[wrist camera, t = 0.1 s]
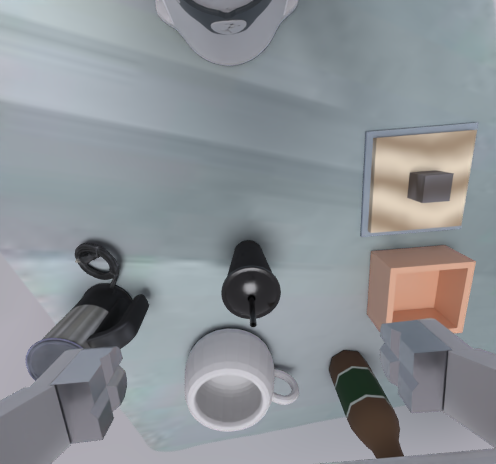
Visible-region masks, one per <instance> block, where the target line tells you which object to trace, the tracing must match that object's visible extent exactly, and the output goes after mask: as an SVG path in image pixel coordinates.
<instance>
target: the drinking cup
mask: <svg viewBox="0 0 496 464" xmlns="http://www.w3.org/2000/svg"><path fill="white" fill-rule="evenodd" d="M280 295H281V290H280V285H279V282H278V280H277V278H276V277H275V276H274V275H273V274H272V271H271V269H270V267H269V265H268V263H267V260H266V258H265V256H264V254H263V252H262V249H261V247H260V246H259V245H258V244H257V243H256V242H254V241H250V240H247V241H243V242H241V243H239V244H238V245H237V246H236V248H235V251H234V255H233V258H232V262H231V265H230V269H229V272H228V276H227V278H226V279H225V281H224V283H223V286H222V300H223V302H224V305H225V306H226V308H227V309H228V310H229V311H230V312H231V313H233V314H234V315H236V316H238V317H241V318H245V319H250V326H251V327H255V326H256V318H260V317H263V316H265V315H267V314H269V313H270V312H271V311H272V310H273V309H274V308H275V307H276V306H277V304H278V302H279V299H280Z"/></svg>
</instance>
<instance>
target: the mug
mask: <svg viewBox="0 0 496 464" xmlns="http://www.w3.org/2000/svg"><path fill="white" fill-rule="evenodd" d="M275 377H278V378H281V379H283V380H285V381H286V382H287V383H288V384H289V385H290V386H291V389H292V391H291V393H290V394H289V395H287V396H283V395H279V394H276V393H274V392H273V391H274V378H275ZM298 395H299V388H298V384H297V382H296V381H295V379H294V378H293V377H292V376H291V375H289V374H288V373H286V372H284V371H281V370H279V369H274V364H273V359H272V356H271V353H270V351H269V350H268V348H267V346H266V344H265V343H264V342H263V341H262V340H261V339H260V338H259V337H257V336H255V335H253V334H252V333H250V332H247V331H244V330H240V329H222V330H216V331H214V332H212V333H209V334H207V335H205V336H204V337H203V338H201V339H200V340H199V341H198V342H197V343H196V344H195V346H194V347H193V348H192V350H191V352H190V354H189V357H188V359H187V362H186V368H185V400H186V403H187V405H188V408H189V411H190V412H191V414H192V415H193V417H194V418H195V419H196V420H197V421H198V422H200V423H201V424H202V425H204V426H206V427H208V428H211V429H214V430H218V431H238V430H243V429H246V428H248V427H251V426H253V425H254V424H256V423H257V422H259V421H260V420H261V419H262V418H263V416H264V415H265V414H266V412H267V410H268V408H269V406H270V404H271V402H272V401H273V402H275V403H278V404H282V405H288V404H290V403H292V402H294V401H295V400H296V399H297V398H298Z"/></svg>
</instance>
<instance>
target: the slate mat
mask: <svg viewBox="0 0 496 464" xmlns="http://www.w3.org/2000/svg"><path fill="white" fill-rule="evenodd" d="M477 129H478V123H466V124H454V125H442V126H429V127H417V128H405V129H393V130H381V131H368V132H366V134H365V154H364V174H363V194H362V214H361V234H360V236H361V237H366V236H379V235H391V234H403V233H415V232H427V231H440V230H452V229H461V226H452V227H439V228H427V229H415V230H403V231H391V232H378V233H370V232H369V231H368V218H369V201H370V183H371V166H372V149H373V138H380V137H392V136H404V135H416V134H429V133H441V132H453V131H465V130H477ZM476 135H477V133H476ZM475 141H476V139H475ZM474 147H475V145H474ZM473 153H474V151H473ZM472 159H473V157H472ZM471 165H472V163H471ZM470 171H471V169H470ZM469 177H470V175H469ZM468 183H469V181H468ZM467 189H468V187H467ZM466 195H467V193H466ZM465 201H466V199H465ZM464 207H465V205H464ZM463 213H464V211H463ZM462 219H463V217H462ZM461 225H462V223H461Z"/></svg>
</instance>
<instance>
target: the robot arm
mask: <svg viewBox="0 0 496 464" xmlns="http://www.w3.org/2000/svg"><path fill="white" fill-rule="evenodd" d="M297 4H298V0H156V11H157V13H158V16H159V17H160V18H161V19H162V20H163V21H164V22H165V23H167V24H168V25H170V26H171V27H173V28H174V29H176V30H177V31H178V32H179V33H180V34H181V35H182V37H183V38H184V39H185V41H186V42H187V43H188V45H189V46H190V47H191V48H192V49H193V50H194V51H195V52H196V53H197V54H198V55H200V56H201V57H202V58H204V59H206V60H208V61H210V62H212V63H215V64H219V65H225V66H232V65H239V64H243V63H245V62H248V61H250V60H252V59H253V58H255V57H256V56H258V55H259V54H260V53H261V52H262V51H263V50H264V49H265V48H266V47H267V46H268V44H269V43H270V41H271V40H272V38H273V36H274V34H275V32H276V30H277V28H278V27H279V25H280V23H281V22H282V21H283V20H284V19H285V18H286V17H287V16H289V15H290V14H291V13H292V12H293V11H294V9H295V8H296V6H297ZM380 337H381V338H382V339H383V340H384V342H385V343H384V344H383V345H382V347H381V348H380V361H381V365H382V369H383V371H384V373H385V376H386V377H387V379H388V380H389V382H391V383H392V384H394V385H396V386H398V395H399V396H400V398H401V399H402V400H403V402H404V403H405V405H406V406H407V408H408V409H409V410H410V412H411V413H421V412H438V411H444V413H445V414H446V415H448V416H449V417H450V418H452V419H453V420H455V421H456V422H458V423H459V424H461V425H462V426H464V427H465V428H467V429H468V430H470V431H471V432H473V433H474V434H475V435H477V436H478V437H480V438H481V439H483V440H484V441H486V442H487V443H489V444H490V445H492V446H493V447H495V448H494V449H483V450H472V451H461V452H450V453H438V454H427V455H415V456H402V457H391V458H379V459H368V460H356V461H344V462H332V463H321V464H496V354H494V353H491V352H488V351H485V350H482V349H480V348H476V349H473V348H472V347H471V346H469V345H468V344H467V343H465V342H464V341H463V340H462V339H460V338H459V337H458V336H456V335H455V334H454V333H453V332H451V331H450V330H449V329H447V328H446V327H445V326H443V325H442V324H441V323H440V322H438V321H437V320H436V319H433V318H426V319H418V320H411V321H402V322H393V323H384V324H382V325H381V328H380ZM122 359H123V358H122V354H121V350H120V348H118V347H117V346H113V347H98V348H85V349H84V348H81V349H72V350H67V351H65V352H64V353H63V354H62V355H61V356H60V357H59V358H58V359H57V360H56V361H55V362H54V363H53V364H52V365H51V366H50V367H49V368H48V369H47V370H46V371H45V372H44V373H43V374H42V375H41V376H40V377H39V378H38V379H37V380H36V381H35V382H34V383H33V384H32V385H31V386H30V387H28V388H23V389H21V390H19V391H17V392H15V393H13V394H12V395H10V396H8V397H6V398H4V399H2V400H1V401H0V464H51V463H52V462H53V461H54V460H55V459H57V458H58V457H59V456H60V455H61V454H62V453H63V452H64V451H65V450H66V449H67V448H68V447H69V446H70V444H71V443H80V442H88V441H97V440H103V438H104V436H105V434H106V432H107V431H108V428H109V426H110V425H111V423H112V421H113V418H114V417H113V413H112V412H113V411H114V410H115V409H116V408H118V407H119V406H120V405H121V403H122V401H123V399H124V397H125V393H126V388H127V377H126V372H125V370H124V369H123V368H121V367H120V366H119V364H120V363H121V361H122Z"/></svg>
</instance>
